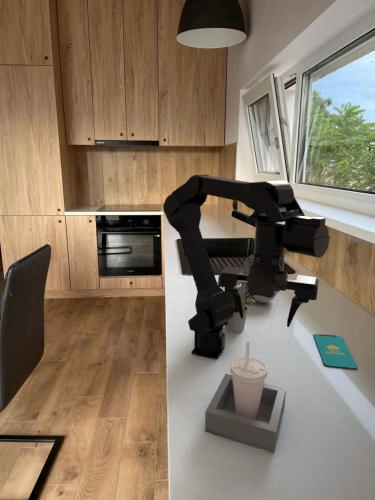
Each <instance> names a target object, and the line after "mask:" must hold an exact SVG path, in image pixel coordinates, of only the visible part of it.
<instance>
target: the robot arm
mask: <svg viewBox="0 0 375 500" xmlns="http://www.w3.org/2000/svg"><path fill="white" fill-rule="evenodd" d="M208 196H212V197H217V198H220V199H221V198H222V199H225V200H230V201H231V200H232V201H237V202H239V203H242V204H243V205H245V206H246V207H247V208H248V209H250V210H252V211H253V213H252V214H250V215H249V216H248V217H246V218H245V221H246V222H247V223H252V224H255V229H254V230H255V234H254V251H253V254H254V258H253V263H252V265H251V268H250V272H249V274H246V273H245V268H243V267H242V268H241V267H234V266H233V267H232V266H226V267H225V268H224V269H223V270H222V271H221V272H220V273H219V274H218V277H217V278H216V275H215V271H214V269H213V266H212V263H211V260H210V257H209V254H208V251H207V247H206V244H205V241H204V239H203V235H202V232H201V229H200V224H201V218H202V209H201V207H202V206H203V205H204V204H205V203H206V202H207V198H208ZM162 209H163V213H164V215H165V217H166V219H167V221H168V223H169V225H170V226H171V227H172V228H173V229H175V231H176V232H177V233H178V234H179V237H180V241H181V243H182V247H183V250H184V252H185V256H186V260H187V263H188V265H189V268H190V272H191V274H192V275H191V276H192V278H193V281H194V285H195V288H196V291H197V292H196V298H195V302H194V303H195V304H194V307H195V311H196V314H195V315H193V316H192V317H191V318H190V319H189V320H188V321H187V324H188V326H189V327H188V328H189V330H190V331H193V332H194V336H193V337H194V347H193V349H192V350H191V354H192V355H194V356H195V355H196V356H201V357H205V358H209V359H212V360H218V359H219V357H220V355H221V354H223V352H224V350H225V349H226V333H225V332H224V327H225V325H228V322H229V320H231V319H232V317H233V314H234V308H233V307H234V306H235V305H234V303H233V301H232V299H231V294H232V295H233V297H234V299H235V302H236V305H237V308H238V311H239V314H240V317H241V319H243V318H244V314H245V305H246V304H245V302H246V301H245V298H246V297H245V292H246V291H247V292H248V294H249V295H250V296H251V295H253V296H254V295H258V296H264V297H266V298H271V297H273V296H274V294H275V291H278V293H279V292H280V291H283V292H285V291H286V290H289V291H290V290H291V291H294V292H293V294H292V298H291V302H290V303H291V304H290V308H289V310H288V311H289V312H288V317H287V321H286V327H287V328H289V327H290V326H291V324H292V321H293V319H294V318H295V315H296V312H297V311H298V309H299V308H300V306H301V305H302V304H308V303H309V302H310V301H316V300H317V299H318V298H317V297H318V291H319V282H320V280H319V279H318V278H317V277H316V276H310V275H299V274H298V275H297V277H296V279H289V277H288V276H289V275H288V271H287V270H284V267H285V266H284V265H285V254H286V251H287V252H289V253H294V254H299V255H304V256H307V257H312V258H319V259H320V258H322V257H324V255H325V254H326V252H327V250H328V248H329V245H330V240H331V239H330V238H331V236H330V233H329V228H328V226H327V225H326V221H327V220H326V218H325V217H323V216H322V217H320V216H317V217H316V216H315V217H313V216H312V217H310V216H306V215H305V213H304V211H303V209H302V207H301V206H300V204H299V202H298V201H297V199H296V197H295V193H294V189H293V187H292V185H291V183H289V182H288V181H286V180H270V181H268V180H267V181H253V182H251V181H244V180H238V179H232V178H231V179H230V178H225V177H218V176H212V175H210V174H193V175H191V176H190V177H189V178H188V179H187V181H186V182H184V183H182V185H180V186H179V187H177V188H176V189H175V190H173V191H172V192H171V194H168V196H167V197H166V198H165V200H164V202H163V206H162ZM217 282H218V283H217ZM245 284H247V287H246V289H247V290H246V289H245ZM222 287H223V288H224V289H225V290H224V289H223V288H222ZM230 293H231V294H230ZM248 294H247V295H248Z"/></svg>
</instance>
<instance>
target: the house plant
mask: <svg viewBox="0 0 375 500" xmlns="http://www.w3.org/2000/svg"><path fill="white" fill-rule="evenodd" d="M217 284H218V281H217ZM221 288H222V289H223V290H224V291H225V289H224V288H225V287H221ZM246 289H247V284H245V314H244V318H243V319H241V317H240V314H239V311H238V308H237V305H236V302H235V299H234V297H233V295H232V294H231V293H230V294H231V299H232V301H233V303H234V305H235V306H234V307H233V308H234V314H233V317H232V319H231V320H229V322H228V325H225V326H224V329H225V331H227V332H229V333H233V334H238V333H242V332H243V331H244V329H245V325H246V320H247V316H248V312H249V306H251V307H252V308H253V304H252V303H251V302H253V303H254V304H255V303H256V300H255V299H253V298H252V297H251V295H249V294H248V292H247V290H246ZM250 297H251V298H250ZM247 305H248V306H247Z"/></svg>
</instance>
